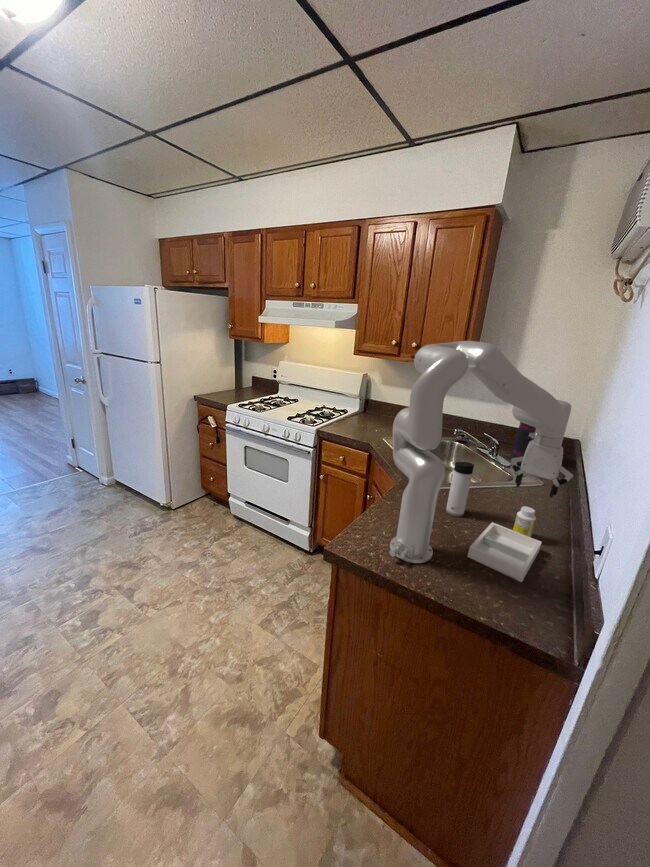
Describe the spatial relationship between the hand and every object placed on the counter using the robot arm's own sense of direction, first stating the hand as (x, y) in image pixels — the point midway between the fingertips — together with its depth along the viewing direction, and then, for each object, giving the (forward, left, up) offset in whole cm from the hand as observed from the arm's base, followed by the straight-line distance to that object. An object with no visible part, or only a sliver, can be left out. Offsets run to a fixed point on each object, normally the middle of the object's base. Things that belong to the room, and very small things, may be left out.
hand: (534, 490), depth 115 cm
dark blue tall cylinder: (+76, +18, -17) cm, 80 cm away
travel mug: (-2, +22, -17) cm, 28 cm away
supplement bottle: (0, 0, -17) cm, 17 cm away
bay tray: (-15, +1, -17) cm, 23 cm away
